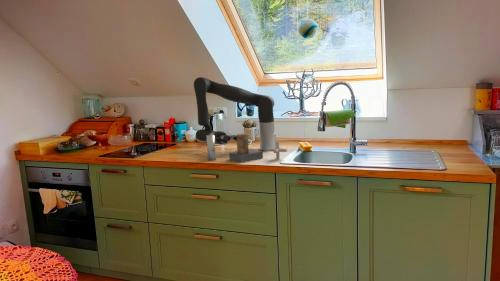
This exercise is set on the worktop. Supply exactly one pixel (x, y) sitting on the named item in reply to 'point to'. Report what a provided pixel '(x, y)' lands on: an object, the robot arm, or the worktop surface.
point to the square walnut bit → (242, 143)
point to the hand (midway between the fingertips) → (233, 140)
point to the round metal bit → (211, 147)
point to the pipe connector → (277, 150)
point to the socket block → (246, 155)
